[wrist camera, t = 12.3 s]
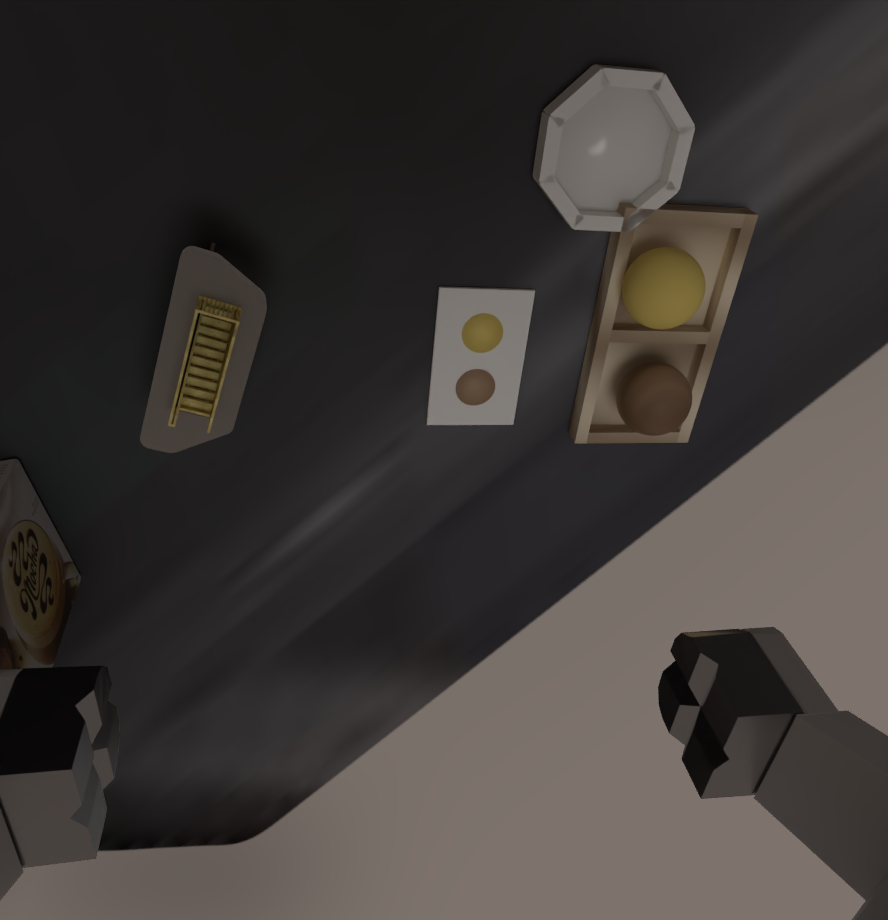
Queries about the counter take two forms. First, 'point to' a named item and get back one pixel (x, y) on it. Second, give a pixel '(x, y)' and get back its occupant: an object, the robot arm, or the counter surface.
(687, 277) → the mustard ball
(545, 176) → the white bowl
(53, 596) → the coffee box
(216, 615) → the counter surface
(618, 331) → the twin rack
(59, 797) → the robot arm
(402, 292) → the counter surface
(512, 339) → the card
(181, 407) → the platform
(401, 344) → the counter surface
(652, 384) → the walnut ball
